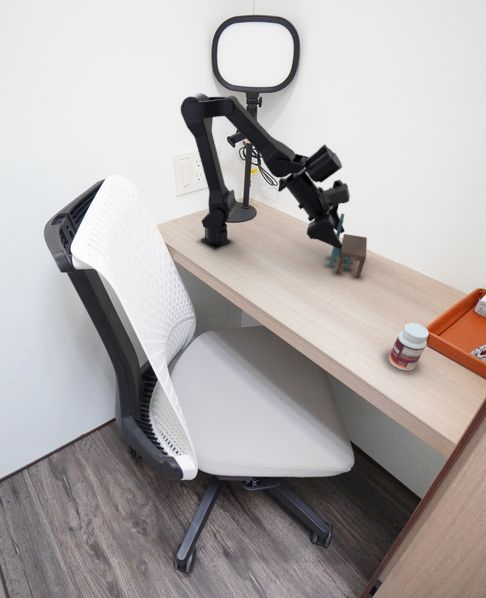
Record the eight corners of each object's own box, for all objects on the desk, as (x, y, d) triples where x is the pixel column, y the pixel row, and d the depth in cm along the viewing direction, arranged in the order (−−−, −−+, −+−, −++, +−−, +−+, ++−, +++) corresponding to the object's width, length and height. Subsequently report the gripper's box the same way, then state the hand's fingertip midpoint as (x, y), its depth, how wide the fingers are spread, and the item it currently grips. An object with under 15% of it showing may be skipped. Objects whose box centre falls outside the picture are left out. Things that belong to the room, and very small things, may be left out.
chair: (328, 266, 98) (339, 220, 90) (330, 258, 101) (341, 213, 93) (347, 270, 96) (361, 223, 88) (348, 261, 100) (361, 215, 92)
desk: (335, 273, 95) (341, 252, 91) (338, 254, 103) (343, 233, 99) (359, 278, 93) (366, 256, 89) (360, 258, 102) (366, 237, 98)
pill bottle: (388, 350, 72) (402, 318, 67) (414, 356, 71) (430, 324, 66) (388, 367, 69) (402, 334, 64) (415, 374, 68) (432, 341, 62)
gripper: (330, 185, 79) (370, 239, 83) (337, 162, 93) (371, 208, 97) (290, 214, 86) (328, 262, 90) (301, 188, 100) (334, 231, 104)
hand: (341, 239), depth 95 cm, fingers open, 9 cm apart
